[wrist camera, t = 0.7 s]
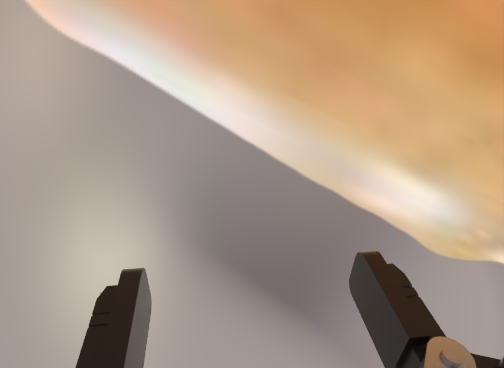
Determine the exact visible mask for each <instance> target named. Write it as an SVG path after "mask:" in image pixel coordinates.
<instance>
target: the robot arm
mask: <svg viewBox="0 0 504 368" xmlns="http://www.w3.org/2000/svg"><path fill="white" fill-rule="evenodd" d="M349 286H350V291H351V294H352V297H353V299H354V301H355V303H356V305H357V308H358V310H359V312H360V314H361V316H362V319H363V321H364V323H365V325H366V327H367V329H368V332H369V334H370V336H371V338H372V340H373V343H374V345H375V347H376V349H377V351H378V354H379V356H380V358H381V360H382V362H383V364H384V367H385V368H504V357H503V358H502V360H499V359H494V358H490V357H484V356H480V355H475V354H472V353H470V352H469V351H468V350H467V349H466V348H465V347H464V346H462V345H461V344H460V343H458V342H457V341H455V340H453V339H450V338H447V337H446V336H445V335H444V333H443V331H442V330H441V329H440V327H439V325H438V324H437V323H436V321H435V319H434V318H433V316H432V315H431V313H430V312H429V310H428V309H427V307H426V306H425V304H424V303H423V301H422V300H421V298H419V297H418V294H417V292H416V290H415V289H414V288H412V284H411V283H410V281H409V280H408V278H407V277H406V275H405V274H404V273H403V272H402V271H401V270H399V269H398V268H397V267H396V266H395V265H394V264H387V263H386V262H385V260H384V259H383V257H382V255H381V254H380V253H379V252H377V251H371V252H358V253H357V254H356V257H355V261H354V264H353V268H352V271H351V275H350V279H349ZM92 314H93V316H92V317H91V320H90V323H89V328H88V330H87V333H86V336H85V339H84V342H83V346H82V349H81V352H80V355H79V359H78V362H77V365H76V368H143V365H144V358H145V350H146V344H147V337H148V330H149V322H150V315H151V294H150V289H149V284H148V279H147V275H146V271H145V268H138V269H124V270H122V272H121V275H120V279H119V283H118V285H115V286H107V287H106V288H105V289H104V291H103V292H102V293H101V294H100V296H99V297H98V298H97V300H96V303H95V307H94V310H93V313H92Z"/></svg>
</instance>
